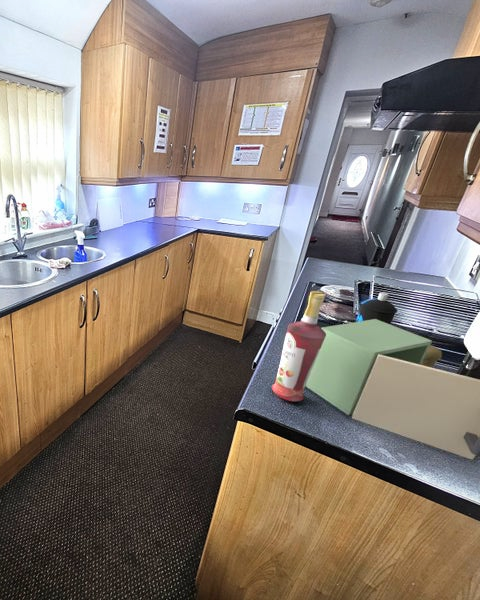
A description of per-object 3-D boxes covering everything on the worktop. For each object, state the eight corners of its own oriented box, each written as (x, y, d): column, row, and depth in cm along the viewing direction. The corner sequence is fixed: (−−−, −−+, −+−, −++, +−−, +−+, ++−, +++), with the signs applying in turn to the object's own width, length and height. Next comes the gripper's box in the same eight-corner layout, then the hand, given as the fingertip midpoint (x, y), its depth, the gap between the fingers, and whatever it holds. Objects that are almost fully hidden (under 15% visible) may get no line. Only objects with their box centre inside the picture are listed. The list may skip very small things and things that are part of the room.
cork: (433, 390, 85) (452, 355, 80) (404, 386, 87) (422, 350, 82) (420, 377, 90) (437, 342, 86) (393, 372, 92) (408, 339, 88)
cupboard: (403, 400, 81) (432, 340, 75) (348, 415, 76) (374, 352, 69) (353, 373, 92) (375, 318, 85) (302, 384, 86) (321, 327, 80)
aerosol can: (382, 354, 101) (408, 295, 93) (370, 362, 97) (396, 301, 89) (351, 343, 107) (373, 286, 99) (339, 349, 103) (360, 291, 95)
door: (481, 478, 61) (530, 407, 54) (352, 432, 71) (381, 367, 64) (471, 456, 65) (515, 388, 59) (351, 416, 75) (378, 354, 69)
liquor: (310, 405, 79) (347, 299, 67) (280, 406, 78) (312, 300, 67) (291, 386, 85) (323, 286, 74) (263, 386, 85) (291, 287, 74)
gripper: (570, 320, 50) (505, 415, 57) (531, 294, 61) (481, 376, 68) (496, 306, 54) (444, 396, 61) (473, 285, 65) (431, 363, 72)
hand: (464, 385), depth 64 cm, fingers closed
